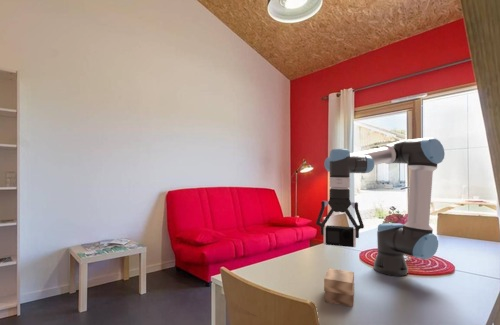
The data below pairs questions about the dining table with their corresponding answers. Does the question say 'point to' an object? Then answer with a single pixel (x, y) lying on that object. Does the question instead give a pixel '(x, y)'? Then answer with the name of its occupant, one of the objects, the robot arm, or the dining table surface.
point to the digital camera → (340, 236)
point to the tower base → (339, 298)
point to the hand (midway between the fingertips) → (339, 244)
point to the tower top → (339, 281)
